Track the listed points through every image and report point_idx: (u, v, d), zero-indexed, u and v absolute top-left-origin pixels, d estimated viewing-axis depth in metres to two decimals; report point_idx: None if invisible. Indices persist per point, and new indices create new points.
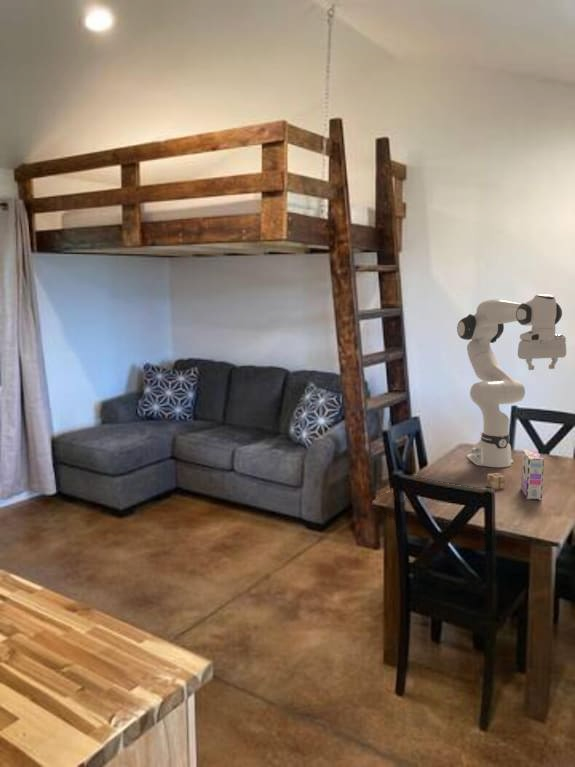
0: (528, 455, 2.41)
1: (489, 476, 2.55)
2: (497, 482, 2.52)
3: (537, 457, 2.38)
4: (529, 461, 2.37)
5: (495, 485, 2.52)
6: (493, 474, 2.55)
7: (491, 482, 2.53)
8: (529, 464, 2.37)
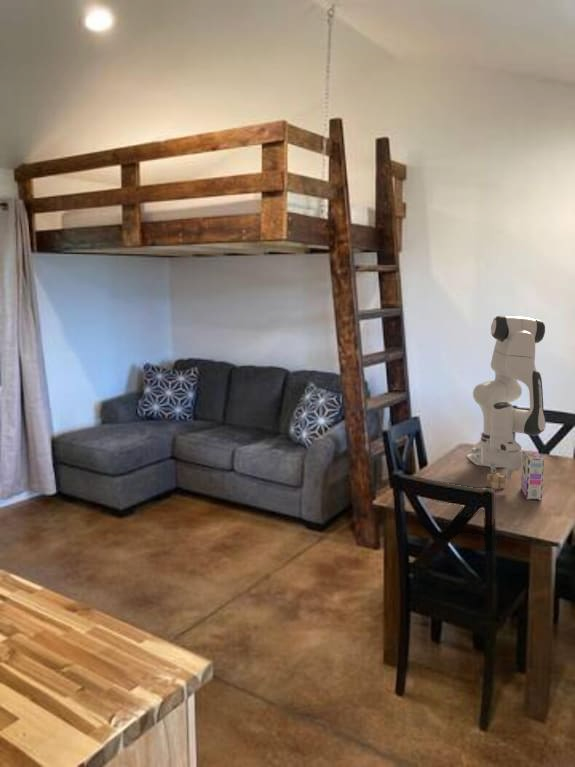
0: (528, 455, 2.41)
1: (489, 476, 2.55)
2: (497, 482, 2.52)
3: (537, 457, 2.38)
4: (529, 461, 2.37)
5: (495, 485, 2.52)
6: (493, 474, 2.55)
7: (491, 482, 2.53)
8: (529, 464, 2.37)
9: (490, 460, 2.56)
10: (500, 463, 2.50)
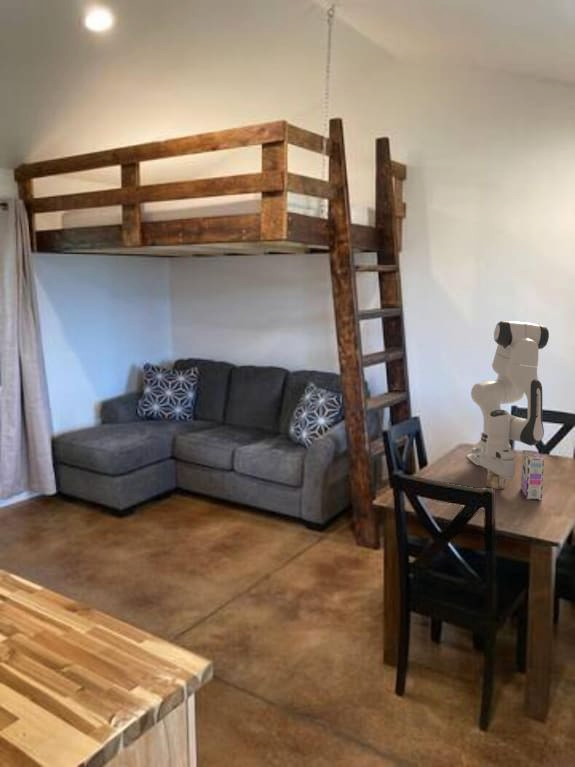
0: (528, 455, 2.41)
1: (489, 476, 2.55)
2: (497, 482, 2.52)
3: (537, 457, 2.38)
4: (529, 461, 2.37)
5: (495, 485, 2.52)
6: (493, 474, 2.55)
7: (491, 482, 2.53)
8: (529, 464, 2.37)
9: (486, 466, 2.58)
10: (495, 470, 2.51)
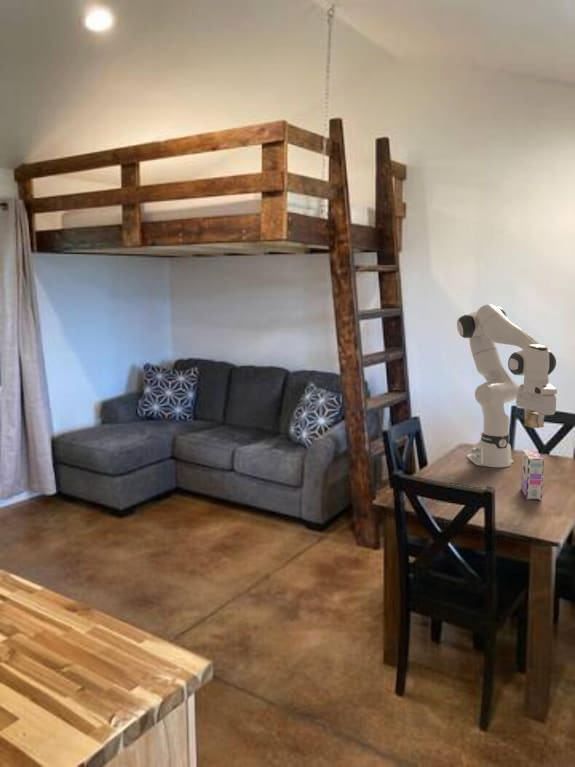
0: (528, 455, 2.41)
1: (527, 415, 2.41)
2: None
3: (537, 457, 2.38)
4: (529, 461, 2.37)
5: (533, 424, 2.38)
6: (531, 413, 2.41)
7: (529, 421, 2.40)
8: (529, 464, 2.37)
9: (523, 406, 2.44)
10: (534, 408, 2.37)
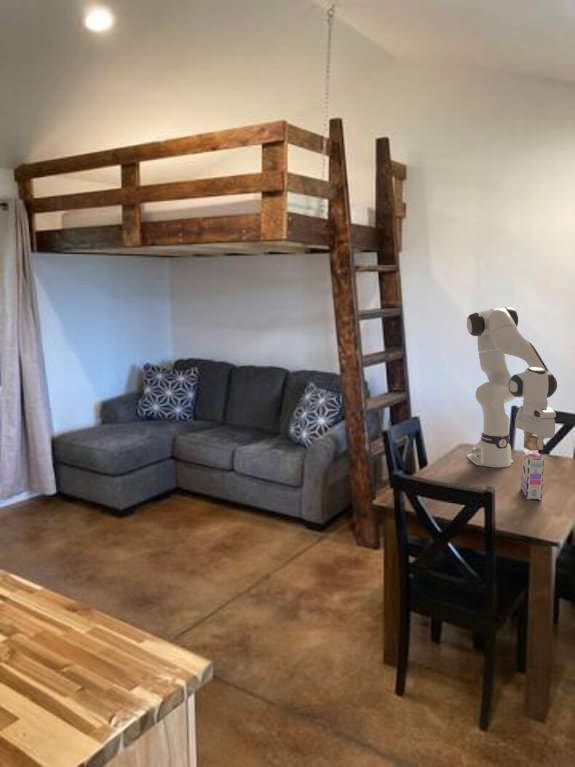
0: (528, 455, 2.41)
1: (526, 437, 2.42)
2: (535, 443, 2.39)
3: (537, 457, 2.38)
4: (529, 461, 2.37)
5: (533, 446, 2.39)
6: (530, 435, 2.43)
7: (528, 443, 2.41)
8: (529, 464, 2.37)
9: (522, 428, 2.45)
10: (533, 431, 2.39)
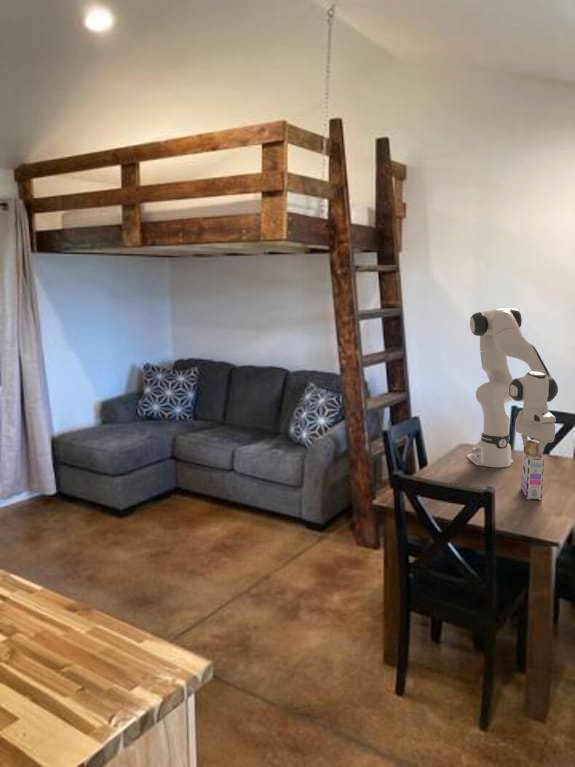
0: (528, 455, 2.41)
1: (526, 443, 2.43)
2: (535, 448, 2.40)
3: (537, 457, 2.38)
4: (529, 461, 2.37)
5: (532, 452, 2.40)
6: (530, 441, 2.43)
7: (528, 448, 2.41)
8: (529, 464, 2.37)
9: (522, 432, 2.46)
10: (533, 435, 2.39)
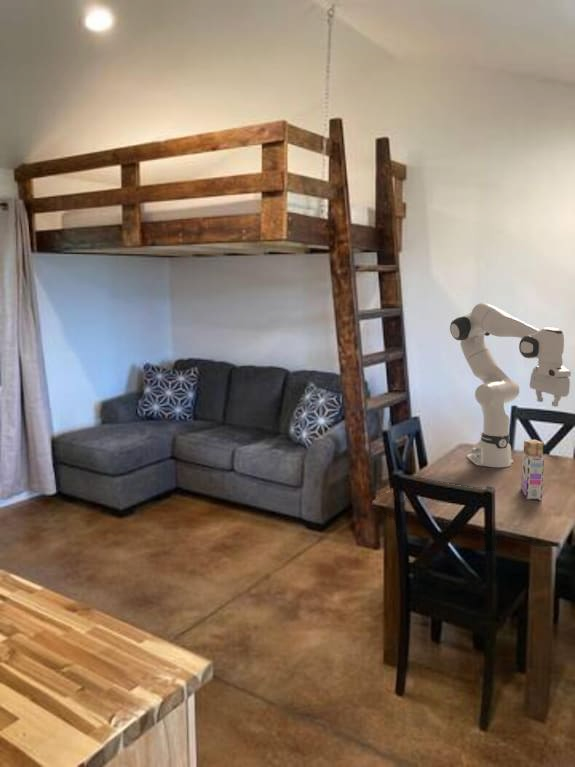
0: (528, 455, 2.41)
1: (526, 443, 2.43)
2: (535, 448, 2.40)
3: (537, 457, 2.38)
4: (529, 461, 2.37)
5: (532, 452, 2.40)
6: (530, 441, 2.43)
7: (528, 448, 2.41)
8: (529, 464, 2.37)
9: (537, 388, 2.49)
10: (547, 390, 2.42)
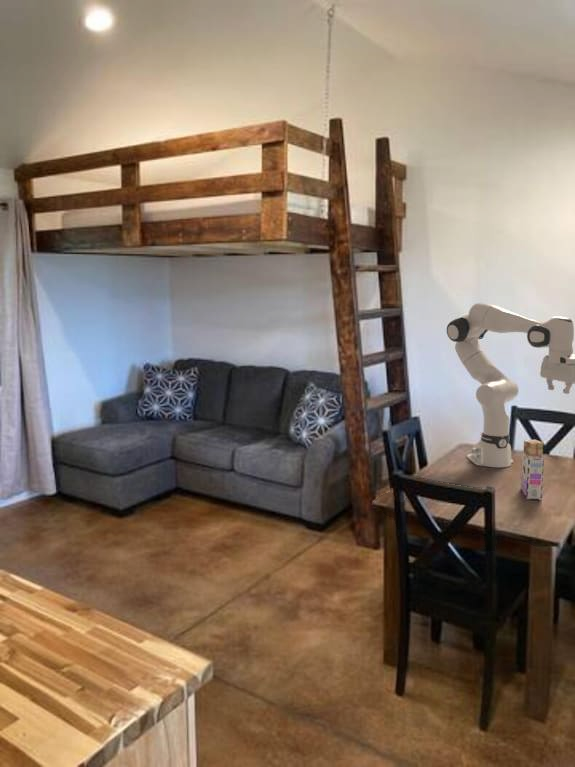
0: (528, 455, 2.41)
1: (526, 443, 2.43)
2: (534, 448, 2.40)
3: (537, 457, 2.38)
4: (529, 461, 2.37)
5: (532, 452, 2.40)
6: (530, 440, 2.43)
7: (528, 448, 2.41)
8: (529, 464, 2.37)
9: (548, 376, 2.54)
10: (558, 377, 2.47)
